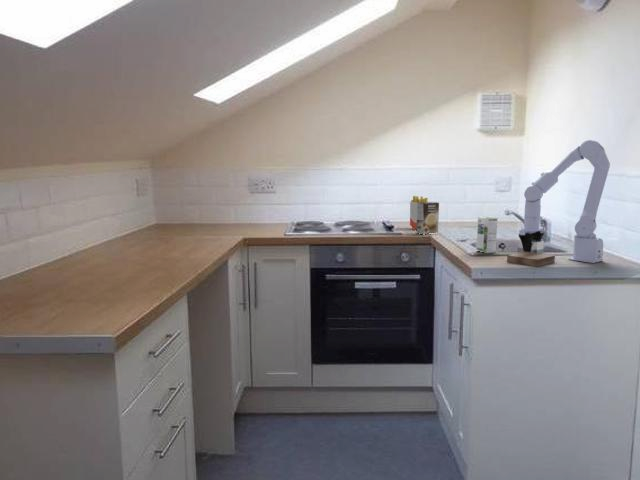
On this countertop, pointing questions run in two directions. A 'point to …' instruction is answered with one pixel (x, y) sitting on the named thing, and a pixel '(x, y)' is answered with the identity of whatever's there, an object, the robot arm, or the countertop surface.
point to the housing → (533, 246)
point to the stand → (531, 258)
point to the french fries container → (415, 210)
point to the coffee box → (427, 217)
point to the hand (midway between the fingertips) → (530, 251)
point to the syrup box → (486, 234)
